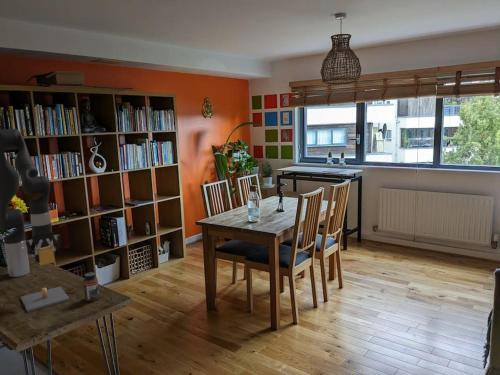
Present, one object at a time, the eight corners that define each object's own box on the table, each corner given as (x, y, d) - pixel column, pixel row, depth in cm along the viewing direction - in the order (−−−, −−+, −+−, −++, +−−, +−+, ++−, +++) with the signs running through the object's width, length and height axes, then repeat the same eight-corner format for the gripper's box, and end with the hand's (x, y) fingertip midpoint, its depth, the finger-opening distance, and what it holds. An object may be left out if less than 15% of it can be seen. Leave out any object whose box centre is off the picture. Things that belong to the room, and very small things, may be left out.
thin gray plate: (21, 298, 170) (19, 288, 170) (60, 288, 180) (59, 278, 179) (27, 312, 158) (25, 300, 157) (69, 300, 168) (68, 289, 167)
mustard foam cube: (37, 262, 170) (36, 249, 169) (51, 259, 174) (50, 246, 173) (40, 265, 166) (38, 251, 165) (55, 262, 169) (53, 248, 169)
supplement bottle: (85, 297, 170) (82, 272, 168) (99, 294, 172) (97, 270, 170) (84, 303, 165) (81, 277, 163) (99, 300, 167) (97, 275, 165)
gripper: (57, 218, 174) (61, 254, 177) (20, 224, 166) (25, 262, 168) (61, 221, 169) (66, 258, 171) (23, 227, 160) (29, 267, 162)
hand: (46, 260), depth 170 cm, fingers closed on mustard foam cube, 5 cm apart
